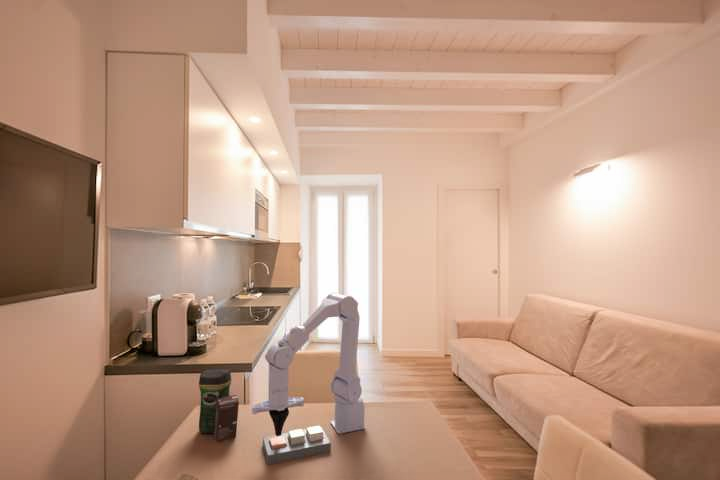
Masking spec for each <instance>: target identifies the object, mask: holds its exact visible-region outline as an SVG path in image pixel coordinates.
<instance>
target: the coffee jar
mask: <svg viewBox="0 0 720 480" xmlns="http://www.w3.org/2000/svg"><path fill="white" fill-rule="evenodd" d="M231 385H232V374H231V370H230V369H206V370H204V371H202V372H200V375H199V380H198V387H199V390H200V408H199V409H200V410H199V418H198V419H199V420H198V431H199V432H200V433H206V434H209V433H210V434H211V433H212V434H214V429H215V414H216V399H217V398H222V397H226V396H230V387H231Z"/></svg>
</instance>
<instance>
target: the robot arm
mask: <svg viewBox="0 0 720 480" xmlns="http://www.w3.org/2000/svg"><path fill="white" fill-rule="evenodd" d="M358 306H359V302H358V301H357V300H356V299H355V298H354V297H352V296H351V295H345V294H344V295H343V294H339V293H336V292H331V293H329V294H328V295H327V296H326V297H325V298H323V299H322V301H321V304H320V305H319V306H318V307H317V308H316V310H315V311H314V312H313V313H312V314H311V315H310V316H309V317H308V318H307V319H306V320H305V321H304V323H303V324H302V325H301V326H300V325H296V326H294V327H291V328H290V329H289V331H288V333H287V334H286V335H285V336H283V338H282V339H280V340H278V341H277V343H275V344H272V345H271V346H270V347H269V348H268V350H267V352H266V354H264V358H265V361H266V362H267V363H268V396H267V397H268V398H267V399H268V400H265V401H263V402H262V401H261V402H259V403H255V404H252V405H251V406H252V409H251V413H252V415H258V414H259V413H265V412H268V413H269V416H270V418H271V420H272V423H273V426H274V427H273V428H274V435H276V436H280V435H281V434H283V433H282V432H283V428H284V425H285V423H286V420H287V418H288V416H289V414H290V411H289V408H295V407H300V408H301V407H304V405H305V404H304V403H305V399H304V398H303V396H302V397H289V396H290V395H289V394H290V392H289V388H290V387H289V385H290V381H289V379H290V366H291V364H292V362H293V361H294V357H295V356H296V354H297V353H298V351H299V350H301V348H303V346H304V345H306V343H307V342H309V340H310V334H311V333H313V331H315V329H317V328H318V327H319V326H320V325H321V324H322V323H324V322H325V321H326V320H327V319H328V318H339V319H340V320H341V322H342V328H341V329H342V330H341V342H340V350H339V351H340V352H339V364H338V366H339V367H338V369H337V370H336V371H335V372H334V373H333V379H332V381H331V384H330V391H331V392H332V393H333V395H334V397H333V398H334V420H330V424H331V426H332V427H333V428H334V430H335V432H336V433H337V434H338V435H339V434H340V435H341V434H344V433H350V432H355V431H360V430H364V429H366V426H365V402H364V400H363V398H362V397H361V396H362V391H363V390H362V385H361V378H360V376H359V374H358V372H357V371H356V369H357V368H356V367H357V365H356V364H357V354H358V342H359V330H360V329H359V328H360V313H359V310H358Z"/></svg>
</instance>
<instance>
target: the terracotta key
mask: <svg viewBox="0 0 720 480" xmlns="http://www.w3.org/2000/svg"><path fill="white" fill-rule="evenodd" d="M285 446H286V441H285V439H284V436H281V437H276V438H270V448H271V449H275V448H280V447H285Z"/></svg>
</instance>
